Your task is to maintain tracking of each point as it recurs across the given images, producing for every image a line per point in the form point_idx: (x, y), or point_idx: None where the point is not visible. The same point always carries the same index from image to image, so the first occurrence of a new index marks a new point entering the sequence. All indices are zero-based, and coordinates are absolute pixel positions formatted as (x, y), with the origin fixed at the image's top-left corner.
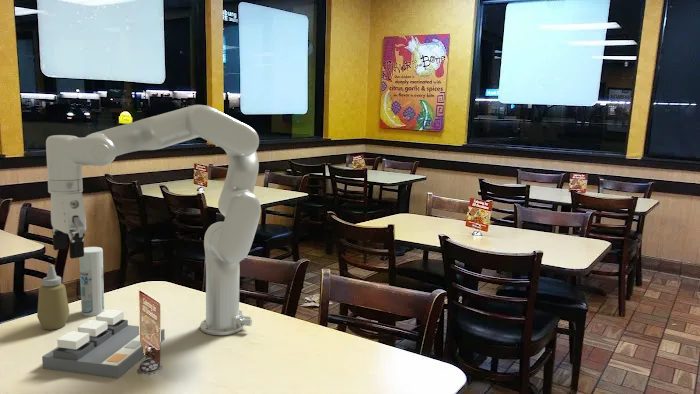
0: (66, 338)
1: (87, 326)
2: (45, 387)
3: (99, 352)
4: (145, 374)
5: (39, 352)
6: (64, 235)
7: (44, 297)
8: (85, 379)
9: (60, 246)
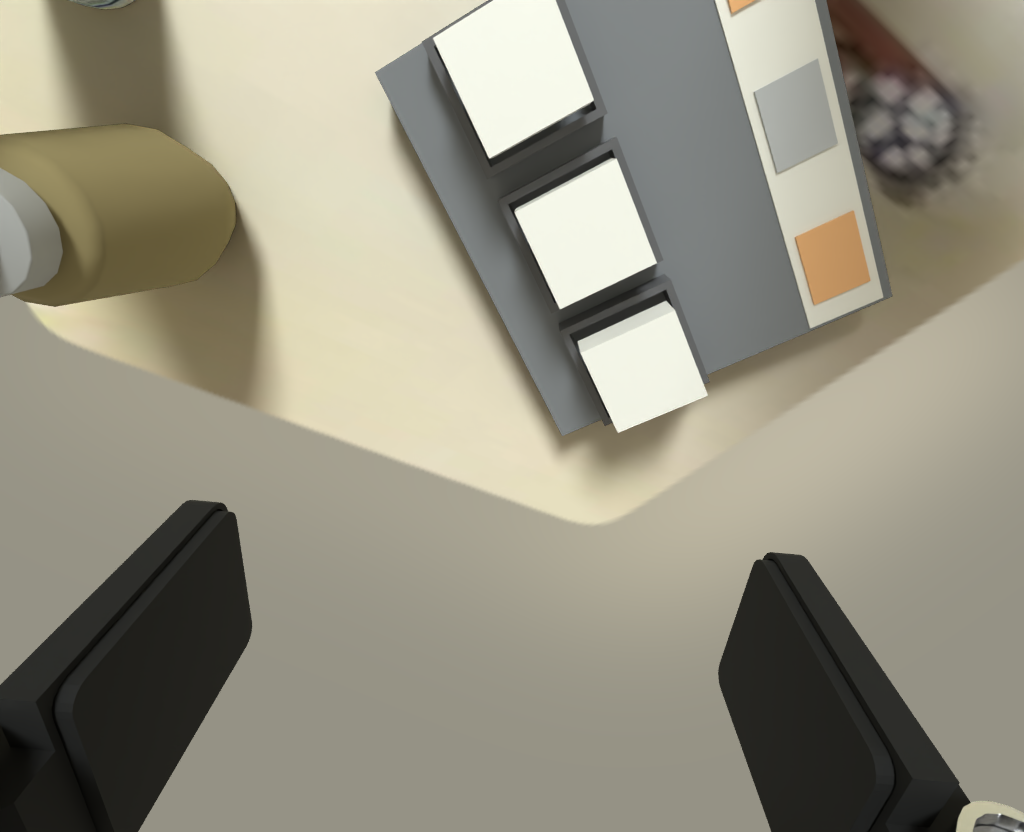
0: (642, 405)
1: (590, 271)
2: (692, 465)
3: (715, 277)
4: (943, 193)
5: (425, 368)
6: (97, 710)
7: (116, 290)
8: (759, 365)
9: (227, 610)
